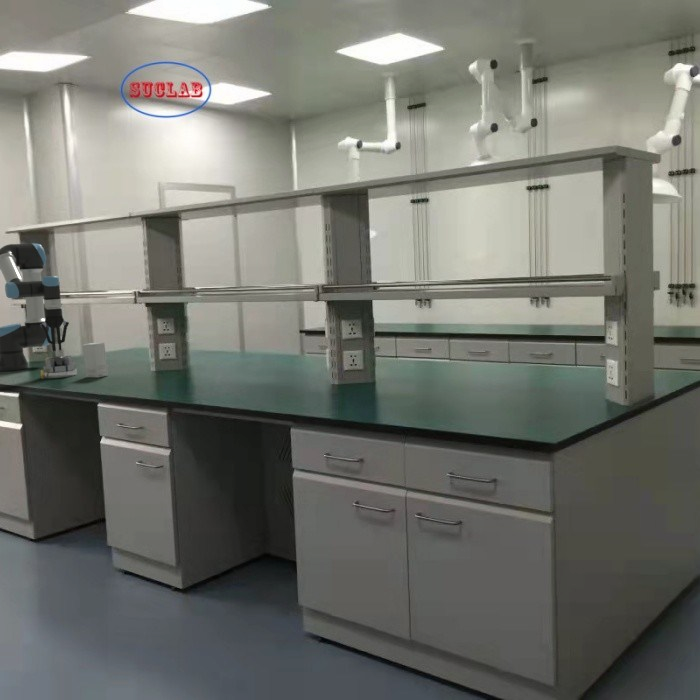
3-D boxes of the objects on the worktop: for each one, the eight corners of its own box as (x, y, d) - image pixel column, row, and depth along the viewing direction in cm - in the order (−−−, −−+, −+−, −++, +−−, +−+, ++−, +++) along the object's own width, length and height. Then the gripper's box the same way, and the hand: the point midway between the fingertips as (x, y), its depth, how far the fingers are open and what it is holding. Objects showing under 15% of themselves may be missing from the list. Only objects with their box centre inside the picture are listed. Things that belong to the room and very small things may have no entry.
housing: (43, 375, 366) (41, 357, 365) (76, 372, 371) (74, 354, 370) (44, 379, 352) (42, 360, 351) (78, 376, 358) (76, 357, 357)
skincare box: (108, 375, 353) (105, 342, 351) (96, 378, 347) (93, 344, 346) (96, 375, 358) (93, 342, 356) (84, 377, 352) (81, 343, 350)
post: (41, 378, 355) (40, 370, 354) (44, 378, 356) (44, 369, 355) (41, 379, 353) (40, 370, 353) (45, 378, 354) (44, 370, 354)
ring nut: (37, 372, 357) (36, 359, 357) (58, 367, 370) (57, 355, 370) (60, 372, 352) (59, 359, 352) (81, 367, 365) (80, 355, 365)
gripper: (39, 309, 357) (44, 359, 359) (68, 307, 363) (73, 356, 366) (37, 309, 363) (42, 358, 366) (66, 307, 370) (70, 355, 372)
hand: (57, 357), depth 366 cm, fingers closed
